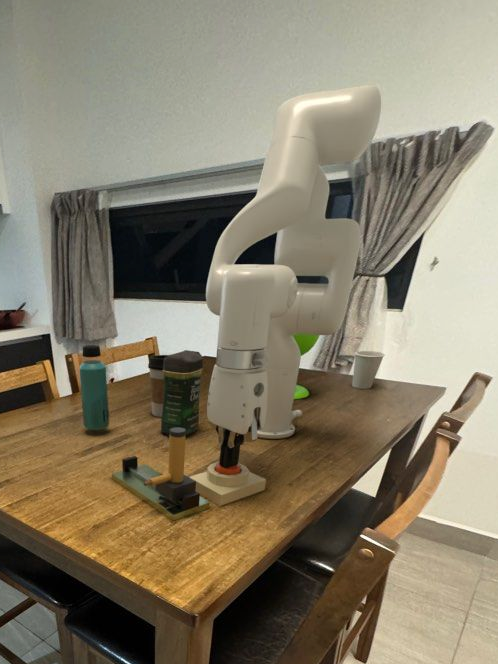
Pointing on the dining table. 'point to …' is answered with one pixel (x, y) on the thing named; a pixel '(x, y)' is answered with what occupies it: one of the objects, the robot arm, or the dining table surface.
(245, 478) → the button box
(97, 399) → the beverage bottle
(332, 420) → the dining table surface
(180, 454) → the nozzle
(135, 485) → the rail
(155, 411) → the coffee cup
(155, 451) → the dining table surface
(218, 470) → the button
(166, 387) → the coffee jar
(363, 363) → the dixie cup
